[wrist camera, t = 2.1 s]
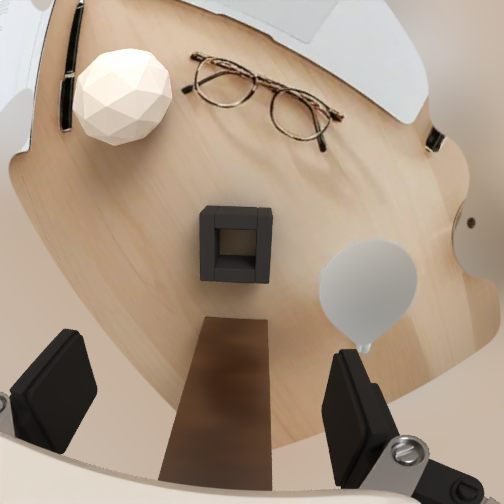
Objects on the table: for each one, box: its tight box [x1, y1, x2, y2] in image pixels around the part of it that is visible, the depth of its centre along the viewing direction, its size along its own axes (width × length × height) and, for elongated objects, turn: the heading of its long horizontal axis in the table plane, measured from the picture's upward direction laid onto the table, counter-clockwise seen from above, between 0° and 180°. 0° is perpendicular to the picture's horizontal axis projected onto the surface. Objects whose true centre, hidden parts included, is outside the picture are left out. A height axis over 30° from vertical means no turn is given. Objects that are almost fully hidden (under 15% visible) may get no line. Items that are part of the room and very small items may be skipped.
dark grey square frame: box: [200, 206, 273, 284], centre depth 26 cm, size 6×6×3 cm
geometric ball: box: [73, 49, 172, 146], centre depth 21 cm, size 8×8×8 cm
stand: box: [158, 317, 272, 491], centre depth 18 cm, size 8×8×28 cm
